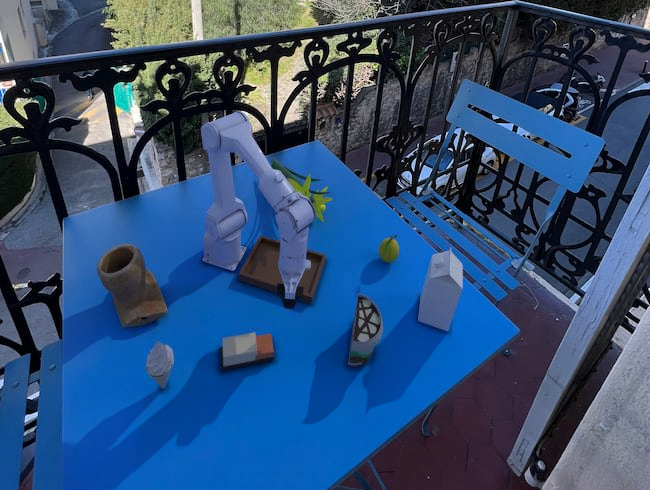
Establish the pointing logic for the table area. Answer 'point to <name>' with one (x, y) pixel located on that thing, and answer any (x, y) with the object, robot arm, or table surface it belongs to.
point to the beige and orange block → (246, 350)
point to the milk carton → (441, 290)
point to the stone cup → (131, 286)
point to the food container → (364, 331)
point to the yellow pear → (389, 249)
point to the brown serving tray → (266, 272)
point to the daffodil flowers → (304, 188)
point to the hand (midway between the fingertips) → (290, 291)
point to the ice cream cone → (160, 363)
